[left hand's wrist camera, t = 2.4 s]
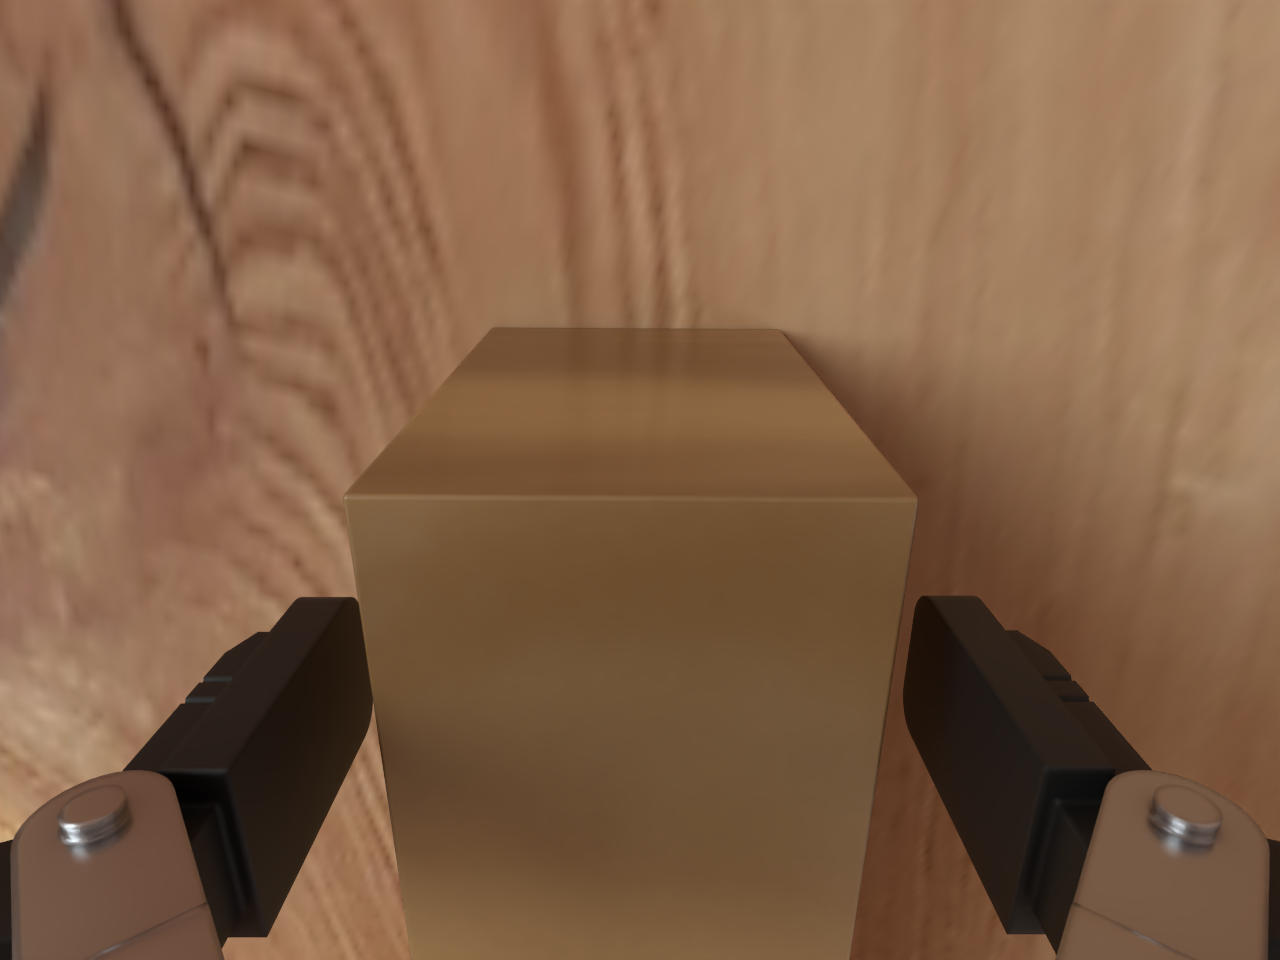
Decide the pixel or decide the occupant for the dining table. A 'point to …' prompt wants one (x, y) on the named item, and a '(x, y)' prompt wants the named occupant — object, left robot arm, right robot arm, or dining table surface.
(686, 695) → the bar
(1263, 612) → the dining table surface
